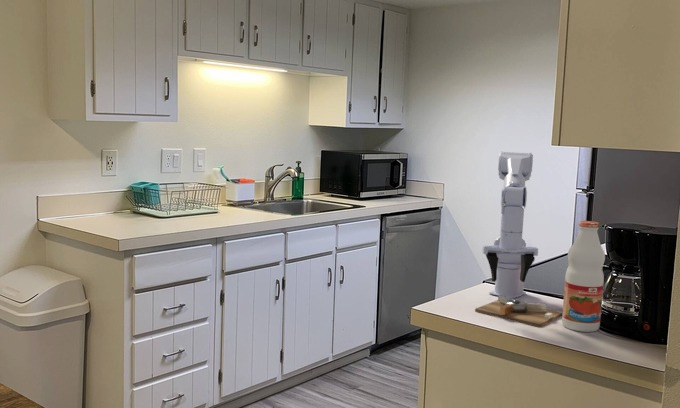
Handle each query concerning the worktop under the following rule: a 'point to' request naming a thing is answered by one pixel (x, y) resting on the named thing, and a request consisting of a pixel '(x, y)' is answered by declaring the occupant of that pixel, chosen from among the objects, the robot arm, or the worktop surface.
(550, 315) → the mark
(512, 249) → the robot arm
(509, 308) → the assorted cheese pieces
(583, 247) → the fruit juice
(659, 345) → the worktop surface
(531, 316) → the board
